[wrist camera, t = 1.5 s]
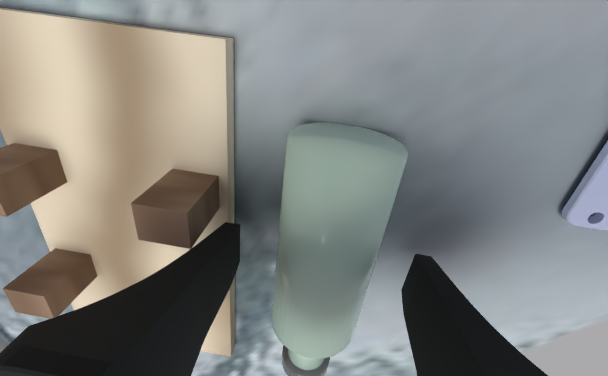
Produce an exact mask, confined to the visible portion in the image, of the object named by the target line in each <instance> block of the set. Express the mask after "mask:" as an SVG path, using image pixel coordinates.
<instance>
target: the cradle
mask: <svg viewBox="0 0 608 376" xmlns="http://www.w3.org/2000/svg"><path fill="white" fill-rule="evenodd" d="M0 129H1V132H2V134H3V137H4V139H5V142H6V144H7V146H4V147H1V148H0V215H1V216H6V217H7V216H9V215H10V214H12V213H14V212H16V211H17V210H19V209H21V208H23V207H25V206H26V205H28V204H30V203H31V206H32V208H33V210H34V213H35V215H36V218H37V220H38V223H39V225H40V228H41V230H42V233H43V235H44V238H45V240H46V242H47V245H48V247H49V250H50V253H48V254H47V255H46V256H44V257H43V258H42V259H41V260H39V261H38V262H37V263H35V264H34V265H33V266H31V267H30V268H29V269H28V270H26V271H25V272H24V273H22V274H21V275H20V276H18V277H17V278H16V279H15V280H13V281H12V282H11V283H9V284H8V285H7V286H5V287H4V288H3V290H4V292H5V294H6V295H7V297H8V299H9V301H10V303H11V305H12V306H13V308H14V310H15V312H19V313H24V314H29V315H34V316H39V317H44V318H50V319H51V318H54V317H57V316H59V315H60V314H61V313H62V312H63V311H64V310H65V309H66V308H67V307H68V306H69V305H70V304H72V306H73V309H74V310H77V309H79V308H82V307H84V306H87V305H89V304H92V303H94V302H97V301H99V300H101V299H104V298H106V297H108V296H111V295H113V294H115V293H117V292H119V291H121V290H123V289H125V288H127V287H129V286H131V285H133V284H135V283H137V282H139V281H141V280H143V279H145V278H147V277H148V276H150V275H152V274H154V273H155V272H157V271H159V270H160V269H162V268H164V267H165V266H167V265H168V264H170V263H171V262H173V261H174V260H176V259H177V258H179V257H180V256H182V255H183V254H185V253H186V252H187V251H189V250H190V249H191V248H193V247H194V246H195V245H197V244H198V243H199V242H201V241H202V240H203V239H205V238H206V237H207V236H208V235H210V234H211V233H212V232H213V231H215V230H216V229H217V228H218V227H220V226H221V225H222V224H224V223H225V222H228V223H234V40H233V38H227V37H219V36H212V35H204V34H197V33H189V32H182V31H174V30H167V29H159V28H152V27H144V26H137V25H130V24H122V23H115V22H107V21H100V20H92V19H85V18H77V17H70V16H62V15H55V14H47V13H40V12H32V11H25V10H17V9H10V8H2V7H0ZM234 347H235V277H234V279H233V282H232V285H231V287H230V289H229V291H228V293H227V295H226V297H225V299H224V301H223V303H222V305H221V307H220V309H219V311H218V313H217V315H216V317H215V319H214V321H213V323H212V325H211V327H210V329H209V331H208V333H207V336H206V338H205V340H204V342H203V345H202V347H201V350H200V351H204V352H209V353H214V354H219V355H224V356H230V357H231V355H232V352H233V349H234Z"/></svg>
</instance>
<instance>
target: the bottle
mask: <svg viewBox="0 0 608 376" xmlns="http://www.w3.org/2000/svg"><path fill="white" fill-rule="evenodd" d="M407 159H408V151H407V149H406V148H405V147H404V146H403V145H402V144H401V143H400V142H398V141H397V140H395V139H393V138H391V137H390V136H387V135H385V134H383V133H380V132H377V131H374V130H371V129H368V128H364V127H359V126H352V125H345V124H339V123H328V122H320V123H308V124H303V125H299V126H297V127H294V128H293V129H291V130H290V131H289V132H288V135H287V144H286V155H285V167H284V178H283V190H282V201H281V213H280V224H279V235H278V247H277V258H276V270H275V281H274V293H273V304H272V326H273V329H274V332H275V334H276V336H277V337H278V339H279V340H280V341H281V343H282V344H283V345H284V346H283V353H282V365H283V368H284V370H285V372H286V374H287V375H288V376H324V375H325V373H326V371H327V367H328V363H329V360H330V357H331V356H334V355H336V354H338V353H339V352H341V351H342V350H343V349H345V348H346V347H347V345H348V344H349V343H350V341H351V339H352V337H353V334H354V330H355V327H356V324H357V321H358V318H359V314H360V311H361V308H362V305H363V301H364V298H365V295H366V292H367V288H368V285H369V282H370V279H371V275H372V272H373V269H374V266H375V262H376V259H377V256H378V253H379V249H380V246H381V243H382V240H383V237H384V233H385V230H386V227H387V224H388V220H389V217H390V214H391V211H392V207H393V204H394V201H395V198H396V194H397V191H398V188H399V185H400V181H401V178H402V175H403V172H404V169H405V165H406V162H407Z"/></svg>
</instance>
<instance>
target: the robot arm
mask: <svg viewBox="0 0 608 376" xmlns="http://www.w3.org/2000/svg"><path fill="white" fill-rule="evenodd" d="M593 213H596V214H595V215H593V216H592V217H589V216H590V215H591V214H593ZM562 217H563V218H564V219H565V220H566V221H567V222H568V223H569V224H571V225H574V226H580V227H586V228H592V229H598V230H605V231H608V141H607V142H606V144H605V145H604V147H603V148H602V150H601V152H600V153H599V155H598V156H597V158H596V159H595V161H594V162H593V164H592V165H591V167H590V168H589V170H588V172H587V173H586V175H585V176H584V178H583V179H582V181H581V182H580V184H579V185H578V187H577V188H576V190H575V192H574V193H573V195H572V196H571V198H570V199H569V201H568V202H567V204H566V205H565V207H564V209H563V211H562ZM588 217H589V218H588ZM239 262H240V224H234V223H228V222H225V223H224V224H222V225H221V226H220V227H218V228H217V229H216V230H215V231H213V232H212V233H211V234H210V235H208V236H207V237H206V238H205V239H203V240H202V241H201V242H199V243H198V244H197V245H195V246H194V247H193V248H191V249H190V250H189V251H187V252H186V253H185V254H183V255H182V256H180V257H179V258H177V259H176V260H174V261H173V262H171V263H170V264H168V265H167V266H165V267H164V268H162V269H160V270H159V271H157V272H155V273H154V274H152V275H150V276H148V277H147V278H145V279H143V280H141V281H139V282H137V283H135V284H133V285H131V286H129V287H127V288H125V289H123V290H121V291H119V292H117V293H115V294H113V295H111V296H108V297H106V298H104V299H101V300H99V301H97V302H94V303H92V304H89V305H87V306H84V307H82V308H79V309H77V310H74V311H71V312H69V313H66V314H63V315H60V316H57V317H54V318H51V319H49V320H46V321H43V322H40V323H37V324H34V325H31V326H29V327H27V328H26V329H25V330H24V331H23V332H22V333H21V334H20V335H19V336H18V337H17V338H15V339H14V340H13V341H12V342H11V343H10V344H9V345H8V346H7V347H6V348H5V349H4V350H3V351H2V352H1V353H0V376H191V374H192V371H193V368H194V366H195V363H196V360H197V358H198V355H199V353H200V350H201V347H202V345H203V342H204V340H205V338H206V336H207V333H208V331H209V329H210V327H211V325H212V323H213V321H214V319H215V317H216V315H217V313H218V311H219V309H220V307H221V305H222V303H223V301H224V299H225V297H226V295H227V293H228V291H229V289H230V287H231V285H232V282H233V279H234V277H235V274H236V271H237V268H238V265H239ZM402 302H403V311H404V317H405V322H406V327H407V331H408V336H409V340H410V344H411V349H412V353H413V357H414V362H415V366H416V371H417V376H548V375H546V374H545V373H544V372H543V371H541V370H540V369H539V368H538V367H536V365H534V364H533V363H532V362H531V361H530V360H528V359H527V358H526V357H525V356H524V355H523V354H521V353H520V352H519V351H518V350H517V349H516V348H515V347H514V346H513V345H512V344H510V343H509V342H508V341H507V340H506V339H505V338H504V337H503V336H502V335H501V334H500V333H499V332H498V331H497V330H496V329H495V328H494V327H493V326H492V325H491V324H490V323H489V322H488V321H487V320H486V319H485V318H484V317H483V316H482V315H481V314H480V313H479V312H478V311H477V310H476V309H475V308H474V306H473V305H472V304H471V303H470V302H469V301H468V300H467V299H466V297H465V296H464V295H463V294H462V293H461V292H460V291H459V289H458V288H457V287H456V286H455V285H454V283H453V282H452V281H451V280H450V279H449V277H448V276H447V275H446V274H445V273H444V271H443V270H442V269H441V268H440V266H439V265H438V264H437V263H436V262H435V261H434V259H433V258H432V257H431V256H425V255H419V254H415V256H414V259H413V262H412V264H411V267H410V269H409V272H408V274H407V277H406V280H405V282H404V285H403V287H402Z"/></svg>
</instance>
